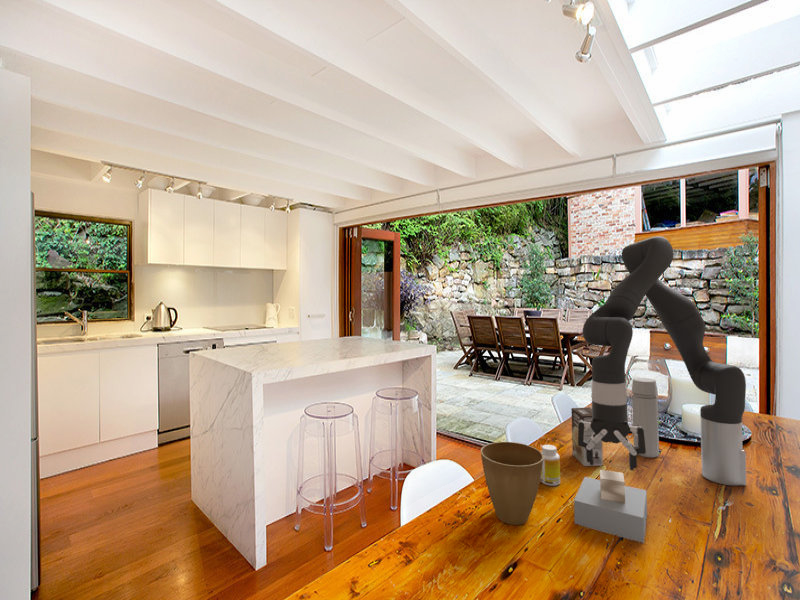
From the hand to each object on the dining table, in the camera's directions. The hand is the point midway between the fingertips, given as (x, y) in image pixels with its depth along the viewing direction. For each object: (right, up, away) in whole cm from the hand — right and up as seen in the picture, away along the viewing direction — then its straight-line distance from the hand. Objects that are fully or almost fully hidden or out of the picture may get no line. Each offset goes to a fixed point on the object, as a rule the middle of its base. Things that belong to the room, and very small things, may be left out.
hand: (611, 466), depth 93 cm
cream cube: (0, -7, 0) cm, 7 cm away
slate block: (0, -13, 0) cm, 13 cm away
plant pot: (-23, -14, +2) cm, 27 cm away
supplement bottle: (-7, -13, +19) cm, 24 cm away
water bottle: (+31, -12, +37) cm, 49 cm away
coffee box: (+10, -12, +33) cm, 37 cm away
